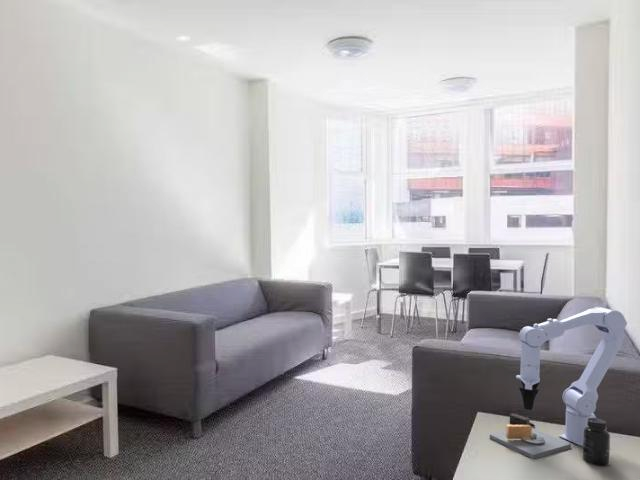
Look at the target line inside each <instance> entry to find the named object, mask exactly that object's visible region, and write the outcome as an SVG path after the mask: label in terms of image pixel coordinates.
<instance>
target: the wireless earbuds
mask: <svg viewBox="0 0 640 480" xmlns="http://www.w3.org/2000/svg"><path fill="white" fill-rule="evenodd" d="M530 420H531V419H530V418H529V417H526V416H524V415H521V414H517V413H513V412H512V413H510V414H509V425H530V426H532V428H535V427H536V425H535V424H534V423H532V422H531V421H530Z"/></svg>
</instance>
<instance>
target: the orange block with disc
mask: <svg viewBox="0 0 640 480" xmlns="http://www.w3.org/2000/svg"><path fill="white" fill-rule="evenodd" d="M505 427H506V428H505V429H506V430H505V431H506V437H507V438H508V439H522V440H523V441H526V442H528V443H532V444H543V443H544V442H545V439H544V438H543V437H541V436H539V435H536V434H534V433H532V428H533V427H532V426H530V425H513V424H506V426H505Z"/></svg>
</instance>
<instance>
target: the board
mask: <svg viewBox="0 0 640 480" xmlns="http://www.w3.org/2000/svg"><path fill="white" fill-rule="evenodd" d="M532 433H534V434H536V435H539V436H541V437H543V438H544V439H545V442H544V443H543V444H532V443H528V442H526V441H523V440H522V439H508V438H507V437H506V430H503V431H498V432H493V433H490V434H489V439H491V440H493V441H495V442H497V443H498V444H501V445H503V446H505V447H507V448H509V449H511V450H513V451H515V452H517V453H520V454H521V455H524V456H525V457H528V458H530V459H532V460H534V459H538V458H541V457H545V456H548V455H551V454H555V453H558V452H561V451H564V450H567V449H568V450H569V449H571V448H572V444H571V442H568V441H565V440H562V439H561V438H558V437H555V436H553V435H552V434H551V435H550V434H548V433H546V432H543V431H542V430H539V429H536V428H535V427H532Z"/></svg>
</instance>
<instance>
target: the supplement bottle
mask: <svg viewBox="0 0 640 480" xmlns="http://www.w3.org/2000/svg"><path fill="white" fill-rule="evenodd" d="M607 424H608V423H607V421H605V420H604V419H601V418H597V417H596V418H588V423H587V425H588V427H586V428H585V429H584V431H583V446H582V458H583V459H582V460H584V462H586V463H589V464H591V465H594V466H598V467H606V466H608V465H609V464H610V451H611V449H610V447H611V434H610V432H609V431H608V430H607V429H608V428H607Z"/></svg>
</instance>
